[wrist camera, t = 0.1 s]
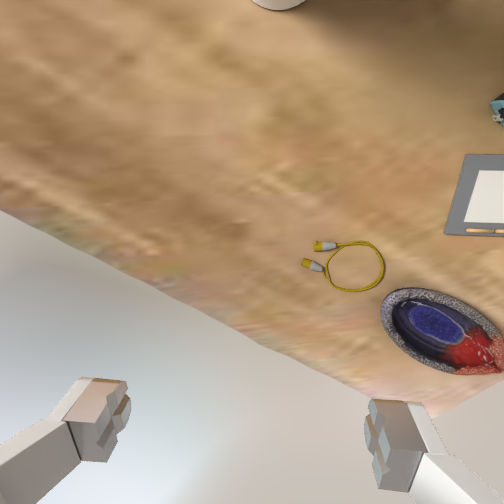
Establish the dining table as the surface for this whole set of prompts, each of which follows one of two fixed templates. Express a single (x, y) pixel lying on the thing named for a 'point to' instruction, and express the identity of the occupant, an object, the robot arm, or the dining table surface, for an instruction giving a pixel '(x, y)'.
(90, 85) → the dining table surface
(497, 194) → the grey board
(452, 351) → the dish
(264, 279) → the dining table surface
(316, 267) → the extension cord
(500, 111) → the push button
